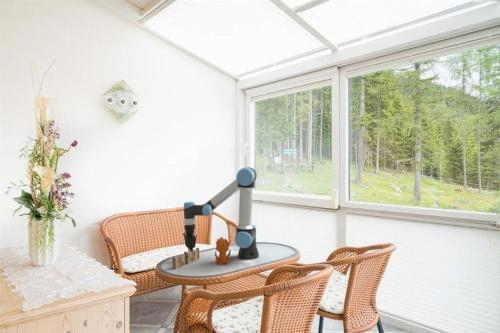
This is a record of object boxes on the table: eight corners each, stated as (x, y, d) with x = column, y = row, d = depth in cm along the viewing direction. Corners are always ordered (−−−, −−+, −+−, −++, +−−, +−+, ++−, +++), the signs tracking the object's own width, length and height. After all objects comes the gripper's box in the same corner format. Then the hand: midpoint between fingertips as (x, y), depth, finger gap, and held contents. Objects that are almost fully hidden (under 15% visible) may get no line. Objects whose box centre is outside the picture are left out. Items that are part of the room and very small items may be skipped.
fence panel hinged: (188, 263, 233) (188, 252, 233) (186, 263, 234) (186, 252, 233) (199, 258, 243) (199, 248, 243) (197, 258, 244) (197, 247, 244)
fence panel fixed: (185, 263, 233) (185, 251, 233) (188, 264, 232) (187, 251, 232) (172, 269, 221) (172, 256, 221) (174, 270, 221) (174, 257, 220)
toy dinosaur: (227, 260, 240) (226, 234, 240) (233, 264, 231) (232, 237, 230) (212, 262, 236) (211, 236, 235) (217, 266, 226) (217, 239, 225)
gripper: (199, 224, 240) (200, 257, 241) (187, 222, 249) (188, 254, 249) (191, 225, 234) (192, 260, 235) (179, 223, 243) (180, 257, 243)
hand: (190, 257), depth 242 cm, fingers closed
